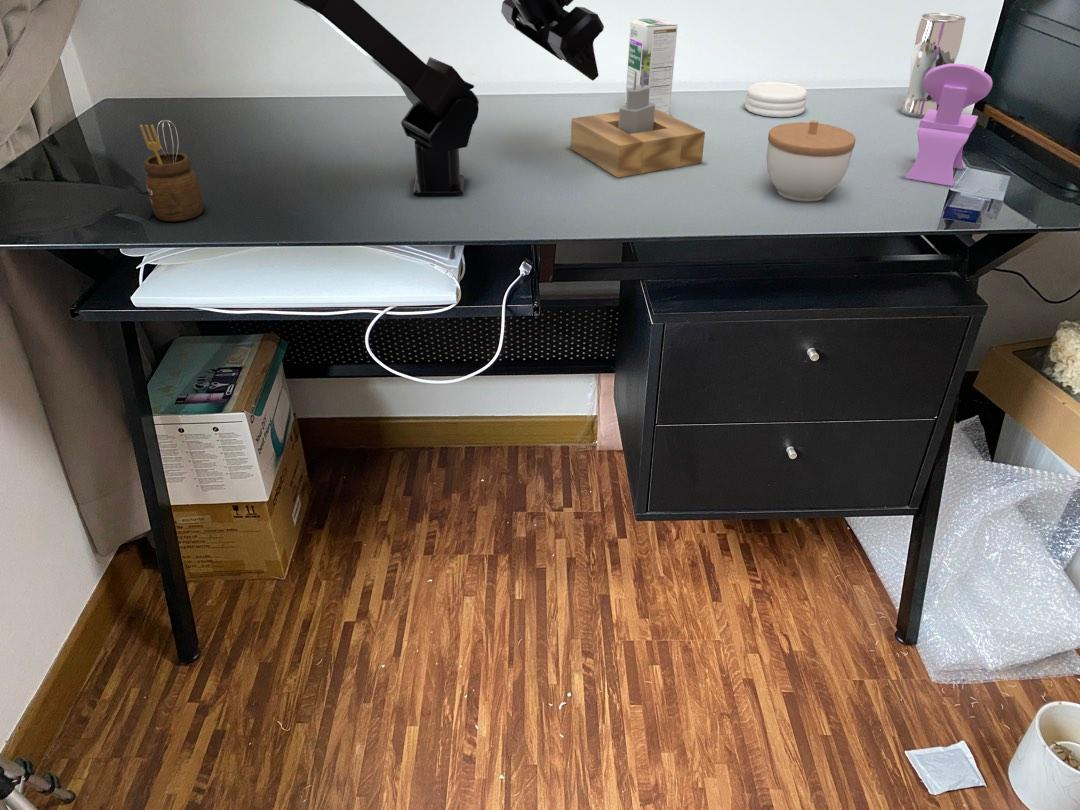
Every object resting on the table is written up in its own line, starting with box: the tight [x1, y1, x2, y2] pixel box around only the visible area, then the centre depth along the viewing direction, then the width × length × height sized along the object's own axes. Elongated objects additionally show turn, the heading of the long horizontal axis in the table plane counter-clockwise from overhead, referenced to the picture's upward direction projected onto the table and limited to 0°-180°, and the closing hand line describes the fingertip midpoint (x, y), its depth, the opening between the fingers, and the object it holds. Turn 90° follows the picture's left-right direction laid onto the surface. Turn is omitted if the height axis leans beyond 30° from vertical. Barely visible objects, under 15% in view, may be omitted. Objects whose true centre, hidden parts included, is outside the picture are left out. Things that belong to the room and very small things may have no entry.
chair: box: [904, 63, 994, 187], centre depth 115 cm, size 8×9×15 cm
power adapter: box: [618, 69, 655, 134], centre depth 122 cm, size 3×5×12 cm, turn 139°
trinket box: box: [766, 119, 857, 202], centre depth 110 cm, size 11×11×9 cm
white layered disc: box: [744, 81, 808, 118], centre depth 144 cm, size 10×10×4 cm
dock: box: [570, 109, 706, 179], centre depth 124 cm, size 14×14×4 cm
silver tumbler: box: [900, 12, 967, 119], centre depth 140 cm, size 7×7×15 cm
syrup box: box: [624, 17, 678, 115], centre depth 139 cm, size 6×6×14 cm
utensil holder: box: [139, 119, 204, 223], centre depth 103 cm, size 6×6×12 cm
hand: (579, 67), depth 118 cm, fingers open, 9 cm apart
